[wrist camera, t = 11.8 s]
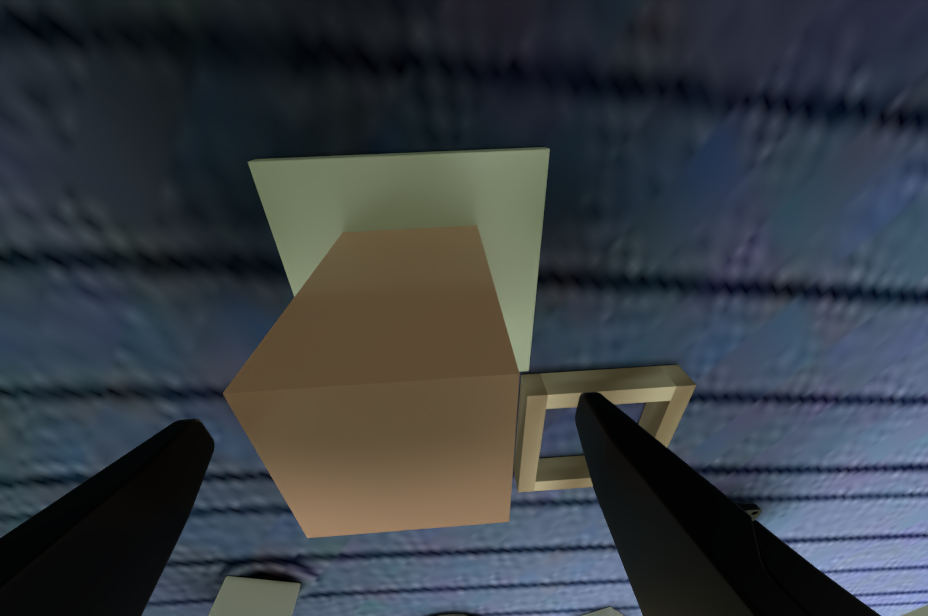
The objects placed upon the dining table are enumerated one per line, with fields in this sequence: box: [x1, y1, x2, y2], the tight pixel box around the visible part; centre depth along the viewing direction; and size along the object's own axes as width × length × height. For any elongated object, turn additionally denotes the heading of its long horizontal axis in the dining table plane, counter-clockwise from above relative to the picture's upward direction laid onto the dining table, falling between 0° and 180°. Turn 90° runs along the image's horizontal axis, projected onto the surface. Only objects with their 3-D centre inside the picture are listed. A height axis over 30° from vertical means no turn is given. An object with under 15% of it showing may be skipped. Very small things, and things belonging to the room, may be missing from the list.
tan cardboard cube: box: [223, 225, 520, 538], centre depth 10 cm, size 5×5×8 cm
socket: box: [514, 365, 696, 492], centre depth 19 cm, size 8×8×2 cm
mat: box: [248, 147, 550, 372], centre depth 14 cm, size 10×10×1 cm
